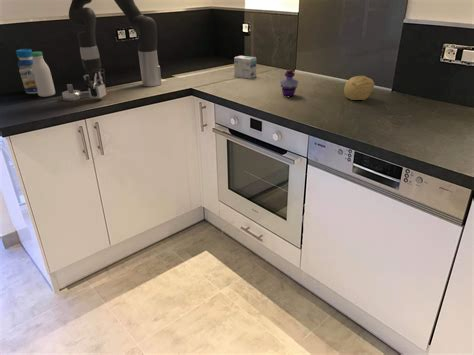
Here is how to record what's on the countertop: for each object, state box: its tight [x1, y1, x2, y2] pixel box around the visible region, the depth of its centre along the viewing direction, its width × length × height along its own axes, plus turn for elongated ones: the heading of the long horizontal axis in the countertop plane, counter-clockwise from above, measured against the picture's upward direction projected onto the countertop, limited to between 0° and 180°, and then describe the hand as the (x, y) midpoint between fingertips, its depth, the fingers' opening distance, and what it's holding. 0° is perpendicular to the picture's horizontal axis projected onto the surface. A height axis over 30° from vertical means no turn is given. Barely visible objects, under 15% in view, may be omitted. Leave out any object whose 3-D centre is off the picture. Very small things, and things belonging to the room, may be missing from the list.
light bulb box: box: [233, 55, 257, 80], centre depth 211 cm, size 11×7×11 cm, turn 58°
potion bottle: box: [279, 69, 299, 98], centre depth 178 cm, size 9×9×12 cm
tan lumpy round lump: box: [343, 75, 375, 101], centre depth 172 cm, size 12×12×11 cm
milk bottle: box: [31, 50, 56, 98], centre depth 180 cm, size 8×8×20 cm
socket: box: [87, 83, 107, 99], centre depth 174 cm, size 5×5×5 cm
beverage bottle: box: [15, 48, 38, 95], centre depth 185 cm, size 8×8×20 cm
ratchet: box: [61, 83, 109, 102], centre depth 180 cm, size 20×8×6 cm, turn 118°
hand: (98, 94), depth 175 cm, fingers closed on socket, 5 cm apart
